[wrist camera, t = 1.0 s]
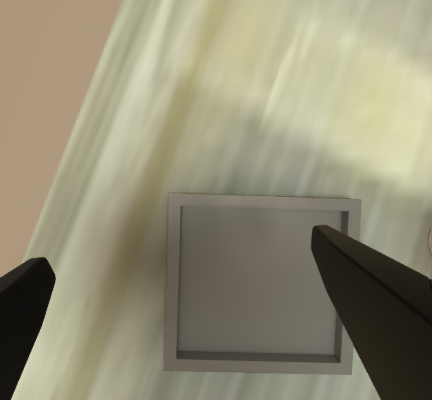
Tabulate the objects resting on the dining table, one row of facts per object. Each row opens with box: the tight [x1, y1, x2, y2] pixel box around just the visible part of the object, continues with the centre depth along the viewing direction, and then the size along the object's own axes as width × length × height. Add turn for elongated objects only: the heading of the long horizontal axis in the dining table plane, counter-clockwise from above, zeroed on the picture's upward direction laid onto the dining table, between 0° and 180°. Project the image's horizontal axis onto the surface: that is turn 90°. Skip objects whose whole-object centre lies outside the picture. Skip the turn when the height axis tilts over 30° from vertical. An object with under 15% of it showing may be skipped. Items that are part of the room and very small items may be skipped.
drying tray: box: [164, 193, 362, 375], centre depth 24 cm, size 15×16×2 cm
